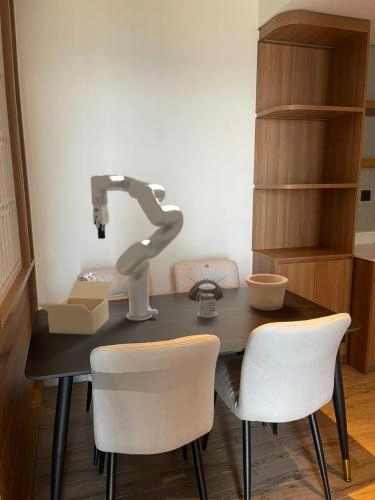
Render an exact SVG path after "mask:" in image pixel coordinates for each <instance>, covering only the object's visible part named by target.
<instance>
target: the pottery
mask: <svg viewBox="0 0 375 500" xmlns="http://www.w3.org/2000/svg"><path fill="white" fill-rule="evenodd" d="M244 280H245V281H244V282H245V283H246V284H247V290H248V291H247V292H248V298H249V305H250V307H252V308H253V309H256V310H260V311H277V310H280V309H282V308H283V306H284V305H283V304H284V300H285V293H286V288H287V285H289V282H290V281H289V279H288V278H287V277H286V276H283V275H277V274H273V273H272V274H271V273H257V274H251V275H248V276H246V277H245V278H244Z"/></svg>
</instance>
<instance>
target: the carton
mask: <svg viewBox="0 0 375 500" xmlns="http://www.w3.org/2000/svg"><path fill="white" fill-rule="evenodd" d="M108 298H109V297H108ZM108 298H73V297H66V298H64V299H63V300H61V301H60V302H59V303H58V304H83V305H84V306H85V307H86V308H87V309H88V310H89V311H90V312H91V313H66V312H48V311H47V318H48V319H47V320H48V330H49V334H69V335H72V334H73V335H94V334H96V333H97V332H98V330H100V329H101V327H103V326H104V324H106V322H107V321H108V320H109V319H110V315H109V309H110V308H109V299H108Z"/></svg>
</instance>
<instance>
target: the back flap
mask: <svg viewBox="0 0 375 500" xmlns="http://www.w3.org/2000/svg"><path fill="white" fill-rule="evenodd" d="M112 284H113V282H112V281H99V280H98V281H97V280H96V281H79V280H75V281H74V282H73V285H72V288H71V291H70V293H69V297H73V298H109V296H110V295H109V294H110V292H111V291H110V290H111V288H112Z"/></svg>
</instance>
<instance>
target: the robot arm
mask: <svg viewBox="0 0 375 500" xmlns="http://www.w3.org/2000/svg"><path fill="white" fill-rule="evenodd" d="M90 190H91V191H90V192H91V193H90V194H91V205H92V218H93V219H92V221H93V224H94V225H95V228H96V230H97V238H98V240H99V239H100V240H104V239H106V225H109V223H110V215H109V214H110V213H109V207H108V203H109V202H108V192H114V191H115V192H116V191H120V192H124V193H125V192H126V193H128V194H129V196H130V197H131V198H133V199H136V201H137V202H138V204H139V206H140V208H141V209H142V211H143V213H144V214H145V216H146V217H147V219H148V221H149V223H151V225H153V226H155V227H158V229H156V230H155V231H154V232H153V233H152V234H151V235H150V236H148V237H147V238H145V239H140V240H138V241H135V242H133V243H132V244H131V245H129V247H128V248H126V250H125V251H123V253H122V254H121V255H120V256H119V257H118V258H117V260H116V264H115V268H116V272H117V273H118V274H119V275H121V276H122V277H128V283H127V284H128V286H127V287H128V288H127V289H128V306H129V307H128V308H129V309H128V311H129V312H127V313H126V315H125V317H126V319H128V321H137V322H139V321H141V322H142V321H146V320H148V319H151V318H152V317H153V315H158V314H159V311H158V309H156V308H151V305H150V300H149V299H150V296H149V295H150V294H149V271H150V263H151V262H150V260H154V259H155V258H157V257H158V256H159V255H160V254H161V253H162V252H163V251H164V250H165V249H166V248H167V247H168V246H169V245H170V244H171V243H172V242H173V241H174V240H175V239H176V238H177V237H178V235H179V234H180V233H181V231H182V229H183V226H184V219H185V218H184V215H183V212H182V210H181V209H180V208H179V207H178V206H175V205H164V206H163V205H161V204H160V203H161V202H163V200H164V199H165V198H166V191H165V189H164V187H163V186H161V185H159V184H156V183H152V182H147V181H143V180H141V179H140V180H139V179H136V178H134V177H130V176H126V175H121V174H104V175H103V174H102V175H92V176H91V177H90Z"/></svg>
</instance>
